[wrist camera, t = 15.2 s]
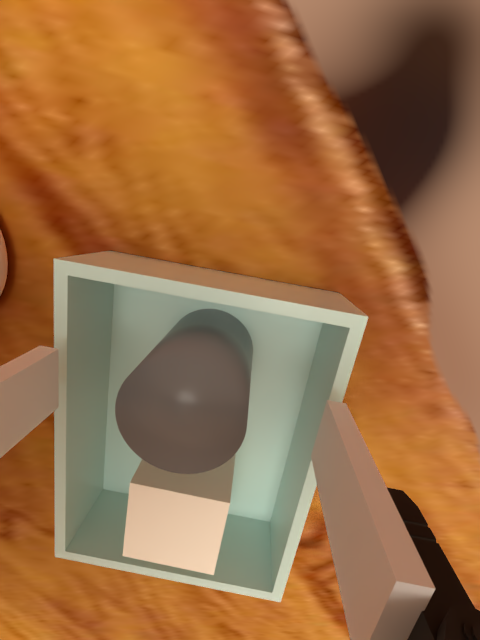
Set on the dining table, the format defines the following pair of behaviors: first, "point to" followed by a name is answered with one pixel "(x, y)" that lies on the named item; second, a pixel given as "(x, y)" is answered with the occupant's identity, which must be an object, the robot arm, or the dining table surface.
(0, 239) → the supplement tub
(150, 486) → the tan cube
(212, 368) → the charcoal cylinder
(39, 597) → the dining table surface
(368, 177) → the dining table surface
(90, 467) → the teal tote
